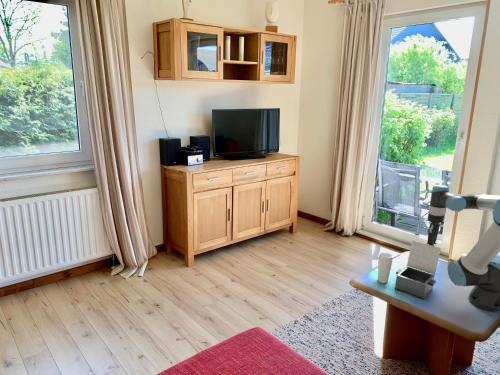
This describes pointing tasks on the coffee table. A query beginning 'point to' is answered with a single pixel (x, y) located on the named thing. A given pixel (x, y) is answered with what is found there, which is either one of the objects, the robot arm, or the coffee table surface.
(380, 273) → the white hollow cylinder
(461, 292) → the coffee table surface
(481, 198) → the robot arm
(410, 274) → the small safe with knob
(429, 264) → the lid
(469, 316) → the coffee table surface
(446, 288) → the coffee table surface
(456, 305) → the coffee table surface
